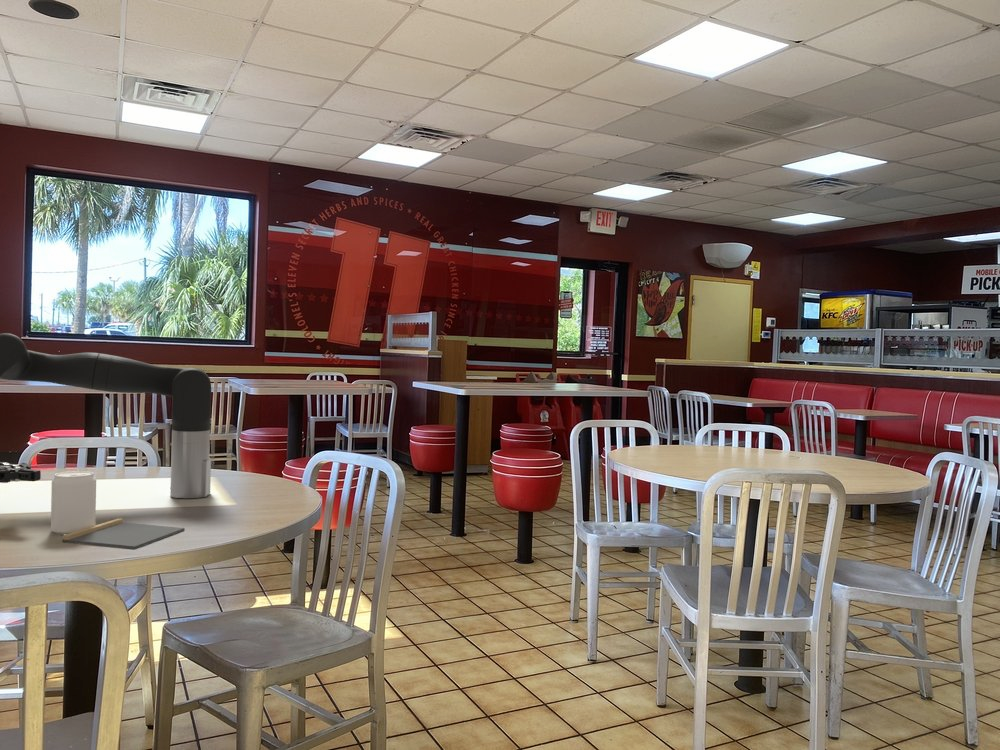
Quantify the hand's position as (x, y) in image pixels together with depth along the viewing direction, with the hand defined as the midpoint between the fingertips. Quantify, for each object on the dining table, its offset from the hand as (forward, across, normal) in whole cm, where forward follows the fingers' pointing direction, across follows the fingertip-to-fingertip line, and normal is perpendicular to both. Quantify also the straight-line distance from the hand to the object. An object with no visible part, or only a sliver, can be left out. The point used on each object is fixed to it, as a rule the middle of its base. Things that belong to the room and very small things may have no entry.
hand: (37, 475), depth 160 cm
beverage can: (+9, 0, +11) cm, 14 cm away
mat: (+21, 0, +11) cm, 24 cm away
